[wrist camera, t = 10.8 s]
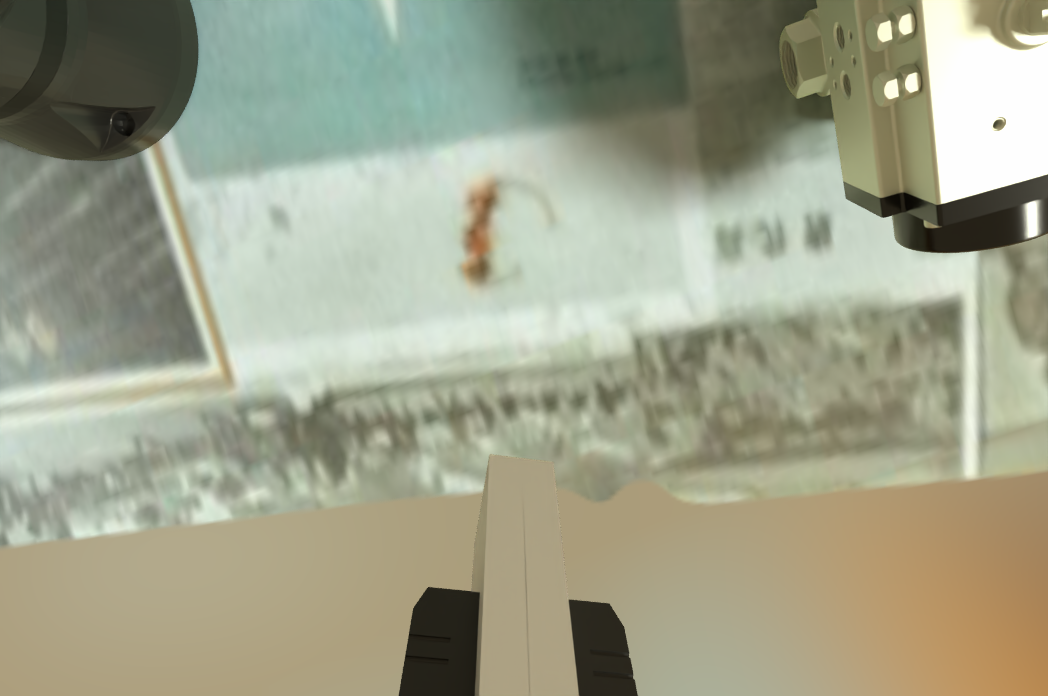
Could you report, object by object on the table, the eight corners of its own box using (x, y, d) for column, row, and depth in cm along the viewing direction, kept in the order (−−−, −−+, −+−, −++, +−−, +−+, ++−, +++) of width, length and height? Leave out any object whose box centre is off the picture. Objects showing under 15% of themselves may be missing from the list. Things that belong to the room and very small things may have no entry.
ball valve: (743, -104, 34) (870, -257, 18) (910, -173, 33) (1216, -411, 16) (799, 209, 41) (929, 300, 25) (941, 167, 39) (1184, 236, 23)
